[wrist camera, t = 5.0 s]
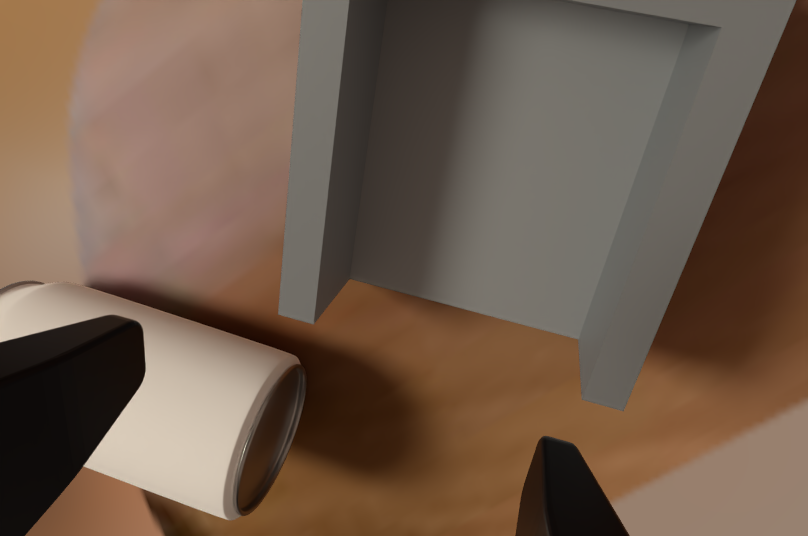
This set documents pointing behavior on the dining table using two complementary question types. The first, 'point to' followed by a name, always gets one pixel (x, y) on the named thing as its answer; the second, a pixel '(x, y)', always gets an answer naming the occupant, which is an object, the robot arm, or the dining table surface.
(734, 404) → the dining table surface
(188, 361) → the can
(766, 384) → the dining table surface
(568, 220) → the u rest
